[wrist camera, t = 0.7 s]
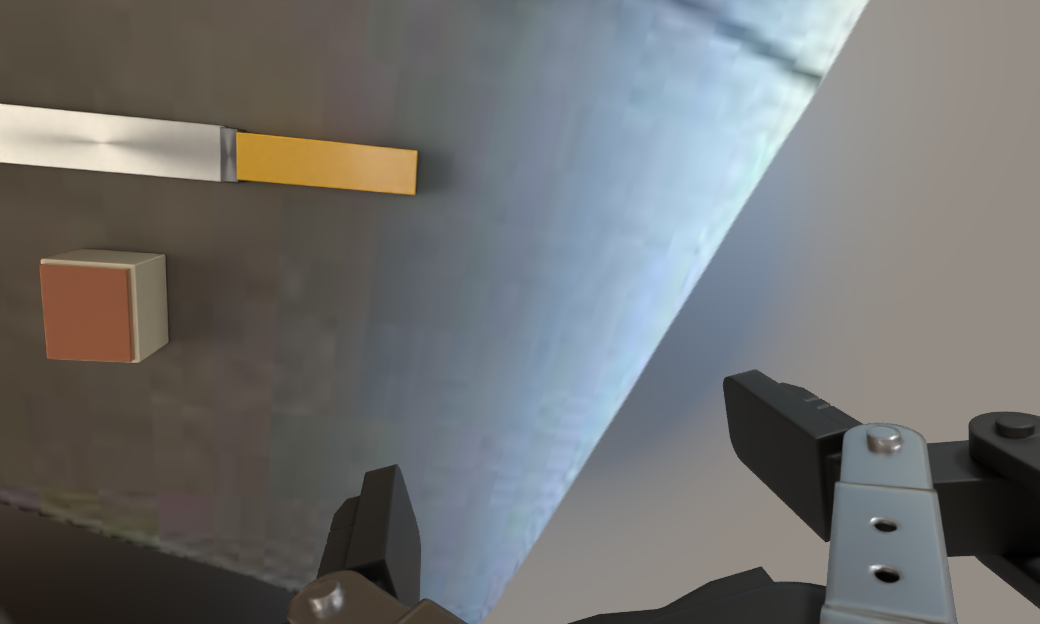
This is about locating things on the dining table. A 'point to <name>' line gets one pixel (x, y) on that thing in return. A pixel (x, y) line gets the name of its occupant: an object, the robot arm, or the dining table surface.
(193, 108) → the dining table surface
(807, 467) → the robot arm
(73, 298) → the salt cellar
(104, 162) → the knife
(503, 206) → the dining table surface
